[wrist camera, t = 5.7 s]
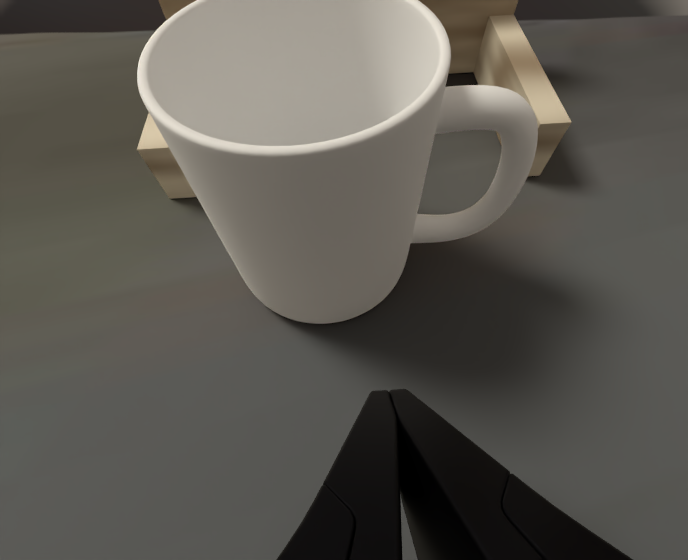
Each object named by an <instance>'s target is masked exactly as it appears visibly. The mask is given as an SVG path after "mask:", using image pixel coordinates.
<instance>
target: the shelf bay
mask: <svg viewBox="0 0 688 560" xmlns="http://www.w3.org/2000/svg"><path fill="white" fill-rule="evenodd" d="M195 1H196V0H159V3H160V5H161V8H162V10H163V13H164V15H165V18H166V20H168V19H169V18H170V17H171V16H173V15H174V14H175V13H177V12H178V11H180V10H181V9H183V8H184V7H186V6H188V5H189V4H191V3H193V2H195ZM418 1H420V2H421V3H423V4H424V5H425V6H426V7H428V8H429V9H430V10H431V11H432V12H433V13H434V14H435V15H436V17H437V18H438V19H439V20H440V22H441V23H442V25H443V27H444V28H445V31H446V33H447V36H448V39H449V43H450V47H451V62H450V68H449V73H448V74H452V73H467V72H473V73H474V75H475V78H476V80H477V83H478V85H488V86H498V87H502V88H506V89H509V90H512V91H514V92H516V93H518V94H519V95H521V96H522V97H523V98H524V99H525V100H526V101H527V102H528V104H529V105H530V106H531V108H532V109H533V111H534V113H535V116H536V119H537V125H538V140H537V148H536V153H535V157H534V160H533V164H532V167H531V169H530V172H529V174H528V176H540V174H541V172H542V171H543V169H544V167H545V166H546V164H547V162H548V161H549V159H550V157H551V156H552V154H553V152H554V151H555V149H556V147H557V146H558V144H559V142H560V140H561V139H562V137H563V135H564V134H565V132H566V130H567V129H568V127H569V125H570V124H571V120H570V119H569V117H568V115H567V113H566V111H565V109H564V107H563V106H562V104H561V102H560V100H559V98H558V96H557V94H556V93H555V91H554V89H553V87H552V85H551V83H550V81H549V80H548V78H547V76H546V74H545V72H544V70H543V68H542V67H541V65H540V63H539V61H538V59H537V57H536V55H535V54H534V52H533V50H532V48H531V46H530V44H529V42H528V41H527V39H526V37H525V35H524V33H523V31H522V29H521V28H520V26H519V24H518V22H517V20H516V18H515V16H514V12H515V8H516V6H517V3H518V0H418ZM496 133H497V136H498V139H499V141H500V144H501V137H500V134H499V133H498V132H497V131H496ZM501 146H502V145H501ZM137 150H138V152H139V153H140V155H141V156H142V158H143V159H144V161H145V162H146V164H147V165H148V167H149V168H150V170H151V171H152V173H153V174H154V176H155V177H156V179H157V180H158V182H159V183H160V185H161V186H162V188H163V189H164V191H165V192H166V194H167V195H168V197H169V198H170V199H174V198H190V197H196V195H195V193H194V191H193V189H192V188H191V186H190V184H189V182H188V181H187V179H186V177H185V175H184V173H183V172H182V170H181V168H180V166H179V165H178V163H177V161H176V159H175V157H174V156H173V154H172V152H171V150H170V149H169V147H168V145H167V143H166V141H165V140H164V138H163V136H162V134H161V133H160V131H159V129H158V127H157V126H156V124H155V122H154V120H153V118H152V117H151V115H150V113H149V114H148V117H147V120H146V123H145V126H144V129H143V132H142V136H141V139H140V142H139V145H138V148H137Z"/></svg>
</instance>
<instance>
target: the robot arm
mask: <svg viewBox="0 0 688 560" xmlns="http://www.w3.org/2000/svg"><path fill="white" fill-rule="evenodd" d="M400 495H401V499H402V503H403V507H404V511H405V514H406V518H407V522H408V525H409V529H410V533H411V536H412V540H413V544H414V547H415V551H416V554H417V558H418V560H633V559H631V558H630V557H628V556H627V555H625V554H624V553H622V552H621V551H619V550H618V549H616V548H615V547H613V546H612V545H610V544H609V543H607V542H606V541H604V540H603V539H601V538H600V537H599V536H597V535H596V534H594V533H593V532H591V531H590V530H588V529H587V528H585V527H584V526H582V525H581V524H579V523H578V522H577V521H575V520H574V519H572V518H571V517H569V516H568V515H567V514H565V513H564V512H562V511H561V510H559V509H558V508H557V507H555V506H554V505H552V504H551V503H550V502H549V501H547V500H546V499H545V498H543V497H542V496H541V495H539V494H538V493H537V492H535V491H534V490H533V489H531V488H530V487H529V486H527V485H526V484H525V483H524V482H522V481H521V480H520V479H519V478H517V477H516V476H515V475H514V474H510V472H509V471H508V470H507V469H506V468H505V467H503V466H502V465H501V464H500V463H498V462H497V461H496V460H495V459H493V458H492V457H491V456H490V455H488V454H487V453H486V452H485V451H483V450H482V449H481V448H480V447H478V446H477V445H476V444H475V443H473V442H472V441H471V440H470V439H468V438H467V437H466V436H465V435H463V434H462V433H461V432H460V431H458V430H457V429H456V428H455V427H453V426H452V425H451V424H449V423H448V422H447V421H446V420H444V419H443V418H442V417H441V416H439V415H438V414H437V413H436V412H434V411H433V410H432V409H431V408H429V407H428V406H427V405H426V404H424V403H423V402H422V401H421V400H419V399H418V398H417V397H416V396H414V395H413V394H412V393H411V392H409V391H408V390H406V389H398V390H391V391H390V392H388V391H386V390H382V391H372V392H371V393H370V394H369V396H368V398H367V400H366V402H365V404H364V406H363V408H362V410H361V412H360V414H359V415H358V417H357V419H356V421H355V423H354V425H353V427H352V429H351V431H350V433H349V435H348V437H347V439H346V440H345V442H344V444H343V446H342V448H341V450H340V452H339V454H338V456H337V458H336V460H335V462H334V464H333V466H332V467H331V469H330V471H329V473H328V475H327V477H326V479H325V481H324V483H323V486H321V488H320V490H319V492H318V494H317V496H316V498H315V500H314V502H313V503H312V505H311V507H310V509H309V510H308V512H307V514H306V516H305V517H304V519H303V521H302V523H301V524H300V526H299V527H298V529H297V530H296V532H295V533H294V535H293V536H292V538H291V539H290V541H289V542H288V544H287V545H286V547H285V548H284V550H283V551H282V553H281V554H280V556H279V557H278V558H277V560H402V536H401V505H400Z"/></svg>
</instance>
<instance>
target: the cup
mask: <svg viewBox="0 0 688 560" xmlns="http://www.w3.org/2000/svg"><path fill="white" fill-rule="evenodd" d="M450 62H451V47H450V43H449V39H448V36H447V33H446V31H445V28H444V27H443V25H442V23H441V22H440V20H439V19H438V18H437V17H436V15H435V14H434V13H433V12H432V11H431V10H430V9H429V8H428V7H426V6H425V5H424V4H423V3H421V2H420V1H418V0H196V1H195V2H193V3H191V4H189V5H188V6H186V7H184V8H183V9H181V10H180V11H178V12H177V13H175V14H174V15H173V16H171V17H170V18H169V19H168V20H167V21H165V22H164V23H163V24H162V25H161V26H160V27H159V28H158V29H157V30H156V32H155V33H154V34H153V35H152V36H151V38H150V39H149V41H148V42H147V44H146V45H145V47H144V49H143V51H142V54H141V57H140V60H139V63H138V70H137V82H138V88H139V93H140V95H141V98H142V100H143V102H144V104H145V106H146V108H147V110H148V111H149V113H150V115H151V117H152V118H153V120H154V122H155V124H156V126H157V127H158V129H159V131H160V133H161V134H162V136H163V138H164V140H165V141H166V143H167V145H168V147H169V149H170V150H171V152H172V154H173V156H174V157H175V159H176V161H177V163H178V165H179V166H180V168H181V170H182V172H183V173H184V175H185V177H186V179H187V181H188V182H189V184H190V186H191V188H192V189H193V191H194V193H195V195H196V196H197V198H198V200H199V202H200V204H201V205H202V207H203V209H204V211H205V212H206V214H207V216H208V218H209V220H210V221H211V223H212V225H213V227H214V228H215V230H216V232H217V234H218V236H219V237H220V239H221V241H222V243H223V244H224V246H225V248H226V250H227V252H228V253H229V255H230V257H231V259H232V260H233V262H234V264H235V266H236V267H237V269H238V271H239V273H240V274H241V276H242V278H243V279H244V281H245V283H246V284H247V286H248V287H249V289H250V290H251V291H252V293H253V294H254V295H255V296H256V297H257V298H258V299H259V300H260V301H261V302H262V303H263V304H264V305H265V306H267V307H268V308H269V309H271V310H272V311H274V312H276V313H278V314H280V315H281V316H284V317H286V318H289V319H292V320H295V321H299V322H305V323H314V324H327V323H336V322H341V321H345V320H348V319H351V318H354V317H357V316H359V315H361V314H363V313H365V312H367V311H369V310H370V309H372V308H373V307H375V306H376V305H377V304H379V303H380V302H381V301H382V300H383V299H384V298H386V297H387V295H388V294H389V293H390V292H391V291H392V289H393V288H394V287H395V285H396V284H397V282H398V280H399V278H400V276H401V274H402V272H403V269H404V266H405V263H406V260H407V256H408V252H409V248H410V244H411V243H433V242H444V241H451V240H456V239H460V238H464V237H467V236H470V235H472V234H475V233H477V232H479V231H481V230H483V229H485V228H486V227H488V226H489V225H491V224H492V223H494V222H495V221H496V220H497V219H498V218H499V217H500V216H501V215H502V214H503V213H504V212H505V211H506V210H507V209H508V208H509V207H510V205H511V204H512V203H513V201H514V200H515V198H516V197H517V195H518V194H519V192H520V190H521V189H522V187H523V185H524V183H525V181H526V179H527V177H528V174H529V172H530V169H531V167H532V164H533V160H534V157H535V153H536V148H537V140H538V125H537V119H536V116H535V113H534V111H533V109H532V108H531V106H530V105H529V104H528V102H527V101H526V100H525V99H524V98H523V97H522V96H521V95H519V94H518V93H516V92H514V91H512V90H509V89H506V88H502V87H498V86H488V85H463V86H449V87H445V86H446V82H447V77H448V73H449V68H450ZM466 130H494V131H497V132H498V133H499V134H500V137H501V145H502V151H501V157H500V162H499V166H498V169H497V172H496V175H495V177H494V180H493V182H492V184H491V186H490V187H489V189H488V191H487V192H486V194H485V195H484V196H483V197H482V198H481V199H480V200H479V201H478V202H477V203H475V204H474V205H473V206H471V207H469V208H468V209H465V210H463V211H460V212H457V213H452V214H445V215H427V214H417V212H418V208H419V203H420V199H421V194H422V190H423V185H424V181H425V176H426V172H427V167H428V163H429V158H430V154H431V149H432V144H433V139H434V135H435V134H439V133H447V132H456V131H466Z"/></svg>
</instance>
